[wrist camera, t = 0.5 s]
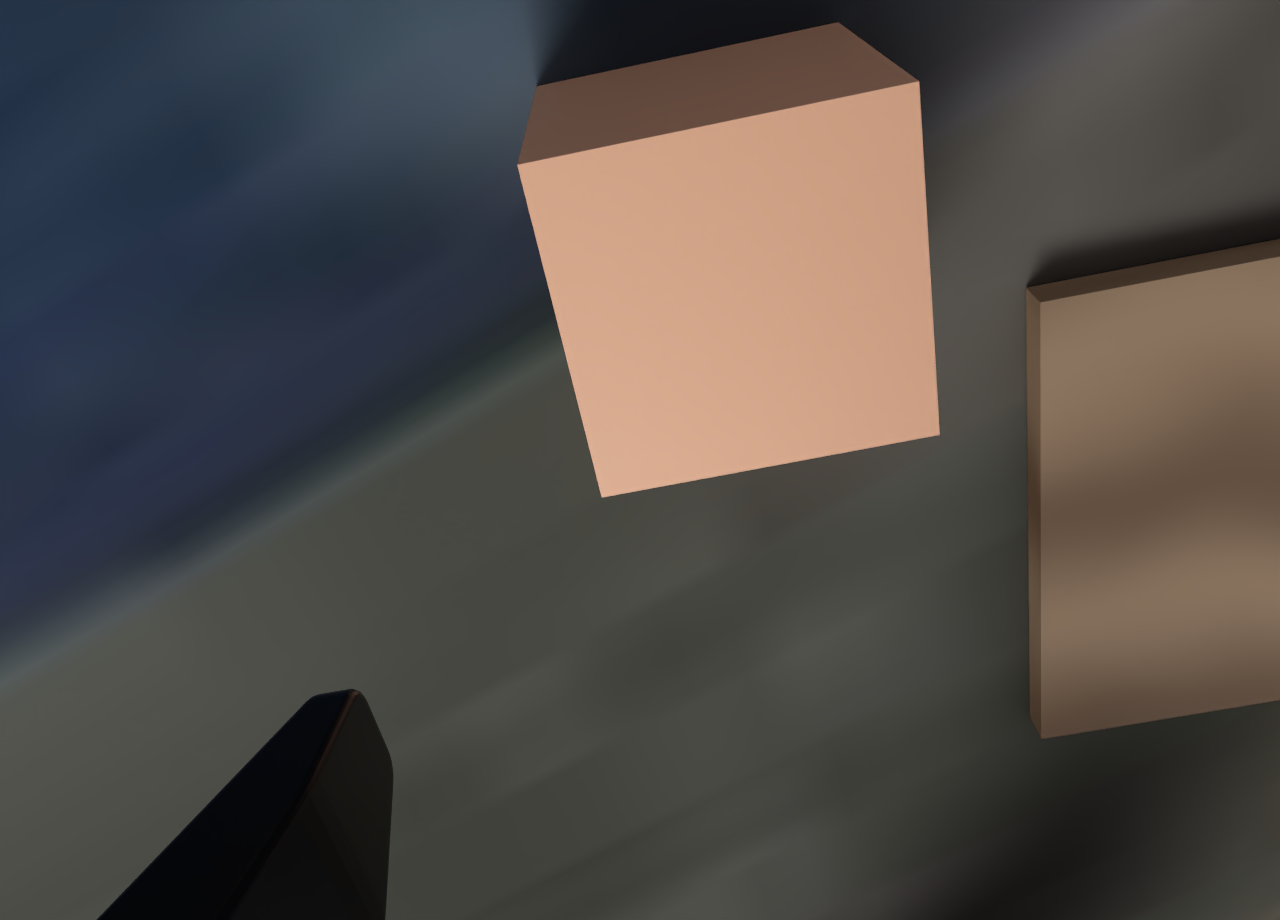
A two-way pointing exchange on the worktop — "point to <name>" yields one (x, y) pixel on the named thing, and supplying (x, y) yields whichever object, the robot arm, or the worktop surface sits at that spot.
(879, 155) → the terracotta cube
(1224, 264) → the flat square plate
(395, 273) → the worktop surface
